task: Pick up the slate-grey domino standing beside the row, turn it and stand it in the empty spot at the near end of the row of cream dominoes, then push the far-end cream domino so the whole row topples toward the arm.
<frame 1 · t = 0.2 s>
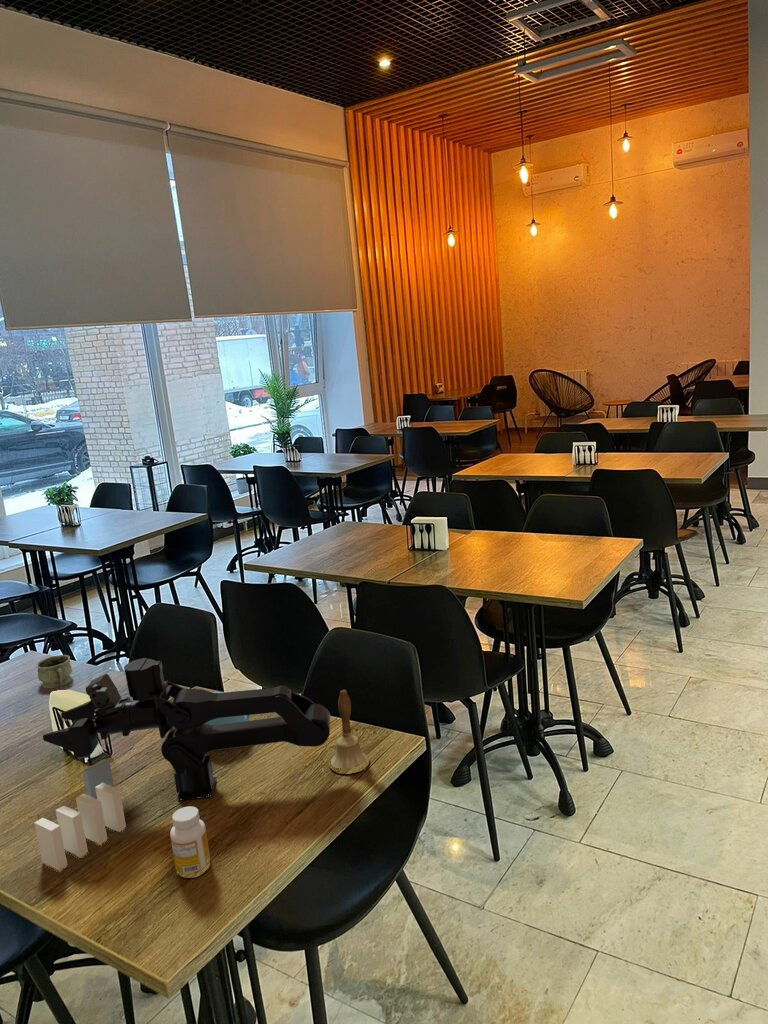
hand: (52, 726, 147), 16 cm above the table, tool horizontal, fingers open, 9 cm apart
supplement bottle: (194, 869, 127), on the table
hand bell: (349, 765, 156), on the table
vessel: (57, 682, 211), on the table
domino 4: (114, 827, 141), on the table
domino 1: (55, 865, 131), on the table
domino 2: (75, 852, 135), on the table
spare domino: (102, 803, 149), on the table
teapot: (214, 741, 170), on the table
domino 3: (95, 839, 138), on the table
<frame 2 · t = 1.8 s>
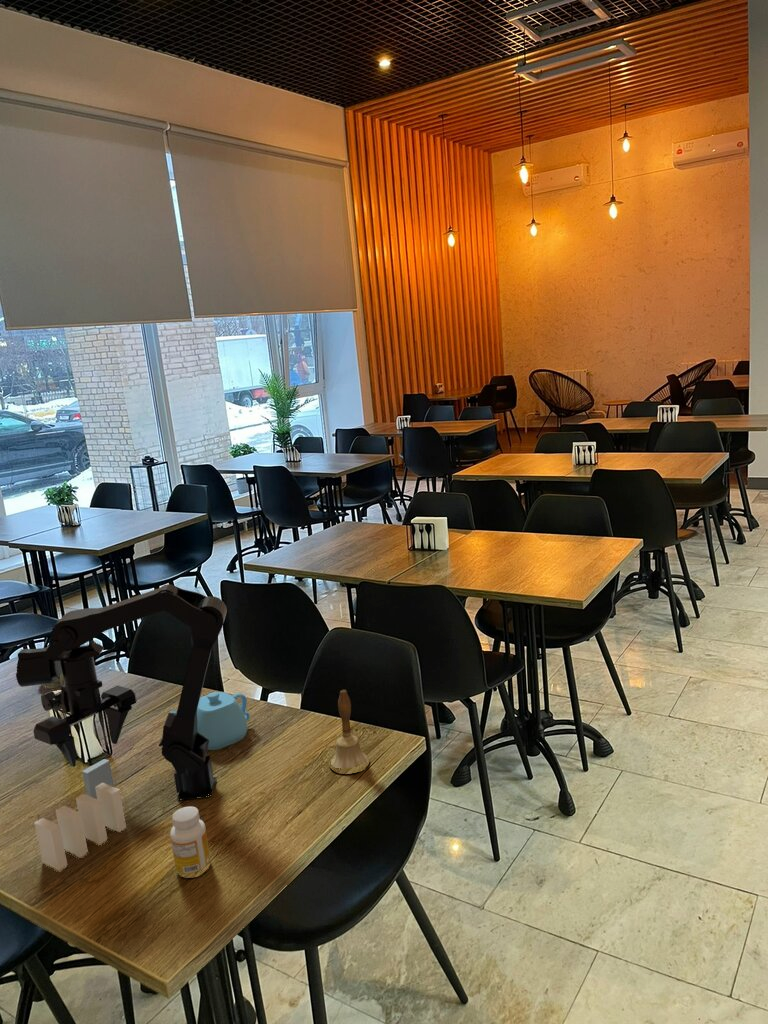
hand: (94, 754, 147), 10 cm above the table, tool pointing down, fingers open, 9 cm apart
nothing on the table moved.
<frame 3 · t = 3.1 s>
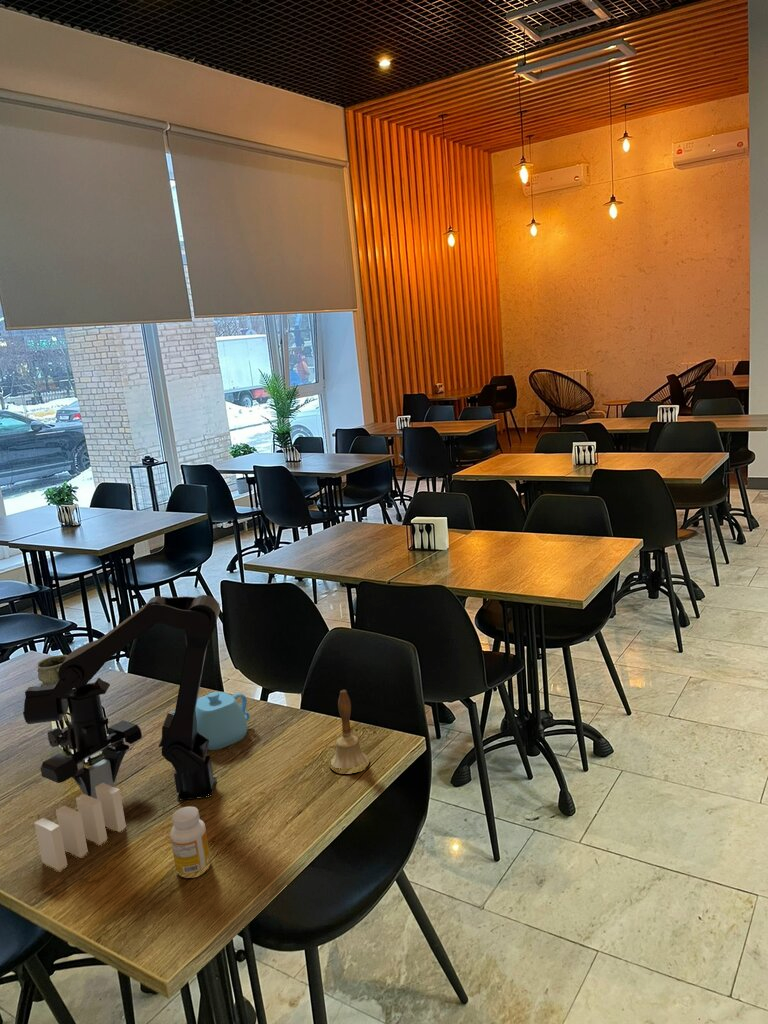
hand: (100, 790, 149), 3 cm above the table, tool pointing down, fingers closed on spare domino, 5 cm apart
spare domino: (102, 803, 149), on the table, touching gripper
everything else where it was.
when the fingers open (4 cm above the table, at t = 8.2 s): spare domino stays where it is, on the table.
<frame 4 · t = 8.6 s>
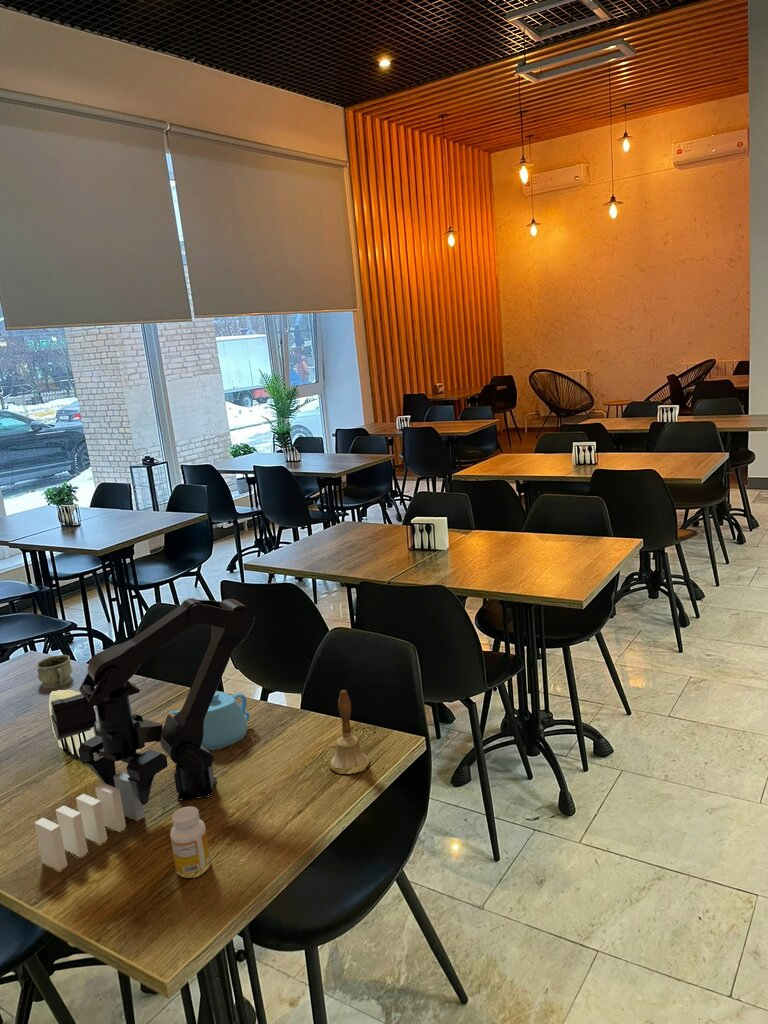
hand: (129, 797, 143), 4 cm above the table, tool pointing down, fingers open, 9 cm apart
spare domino: (132, 815, 144), on the table
everything else where it was.
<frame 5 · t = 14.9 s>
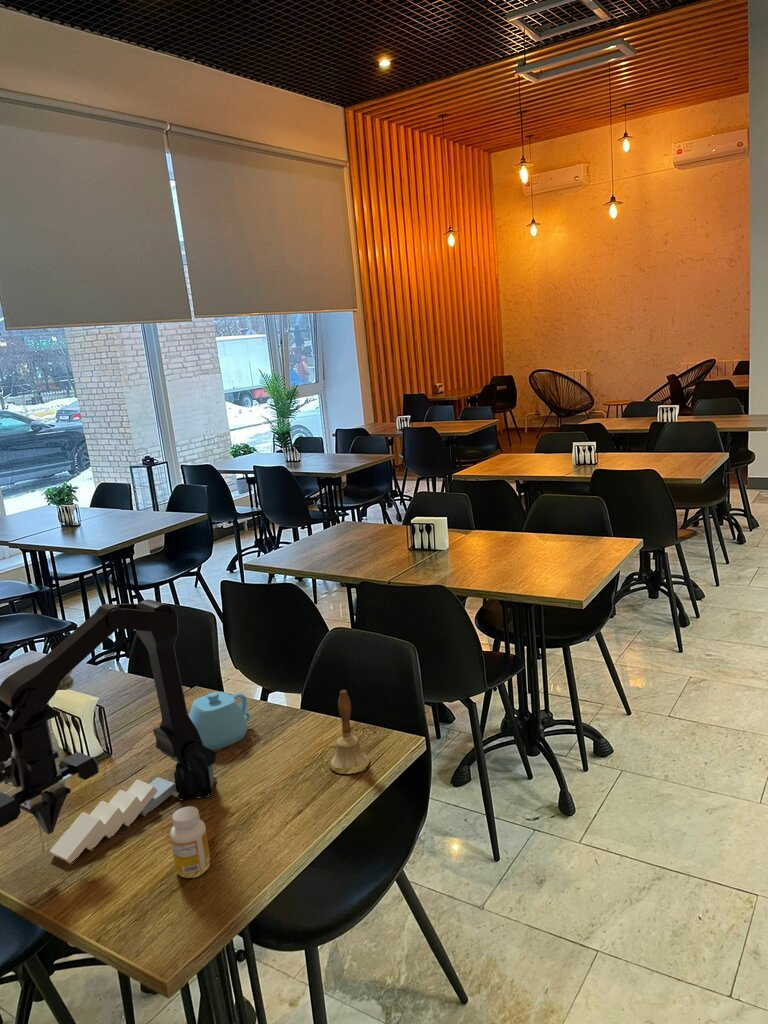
hand: (49, 832, 130), 6 cm above the table, tool pointing down, fingers closed
domino 4: (117, 821, 141), point 1 cm above the table, tilted 66°, touching domino 3, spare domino
domino 1: (60, 857, 132), point 1 cm above the table, tilted 66°, touching domino 2
domino 2: (80, 844, 135), point 1 cm above the table, tilted 66°, touching domino 1, domino 3
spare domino: (135, 809, 145), point 1 cm above the table, tilted 82°, touching arm, domino 4
domino 3: (99, 832, 138), point 1 cm above the table, tilted 66°, touching domino 2, domino 4
everything else where it was.
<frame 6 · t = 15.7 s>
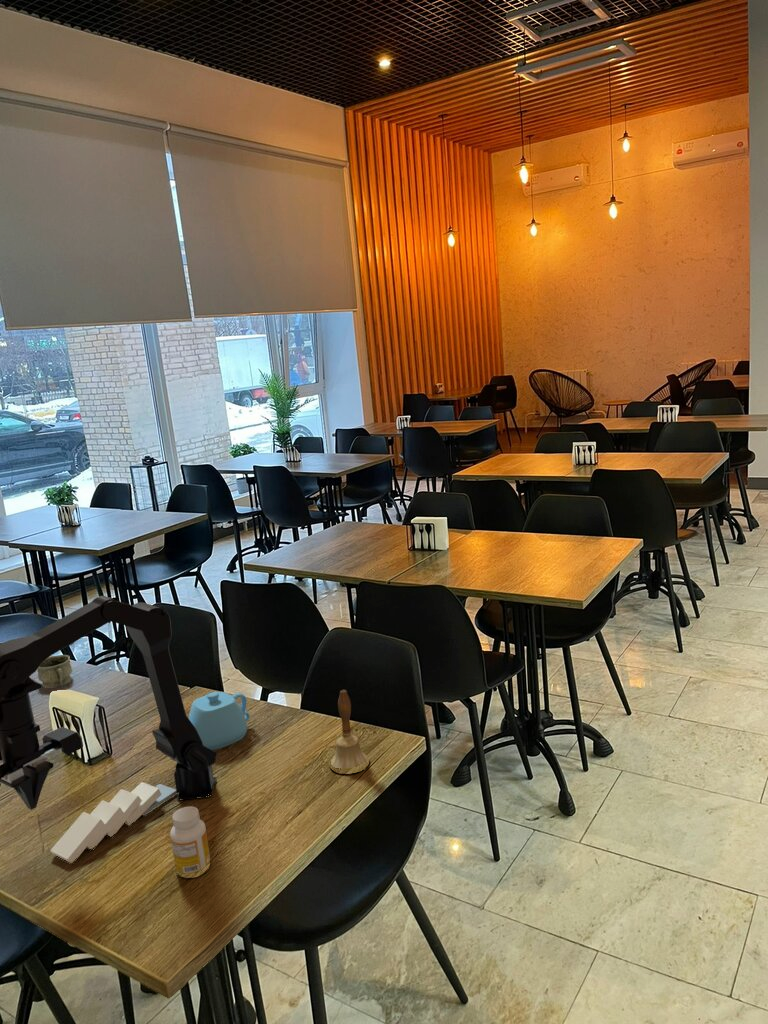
hand: (32, 808, 128), 12 cm above the table, tool pointing down, fingers closed
domino 4: (119, 819, 142), point 1 cm above the table, tilted 74°, touching domino 3, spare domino
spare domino: (135, 812, 145), on the table, tilted 90°, touching domino 4
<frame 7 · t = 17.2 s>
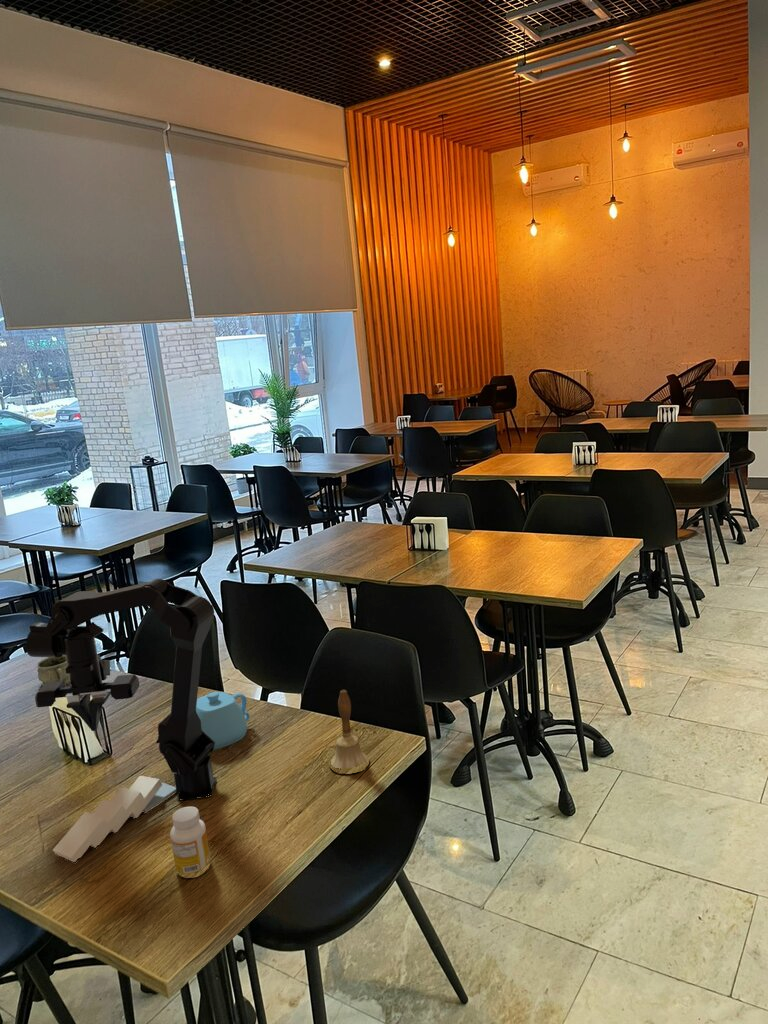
hand: (95, 729, 154), 12 cm above the table, tool pointing down, fingers closed
domino 4: (124, 813, 143), point 1 cm above the table, tilted 72°, touching domino 3, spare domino
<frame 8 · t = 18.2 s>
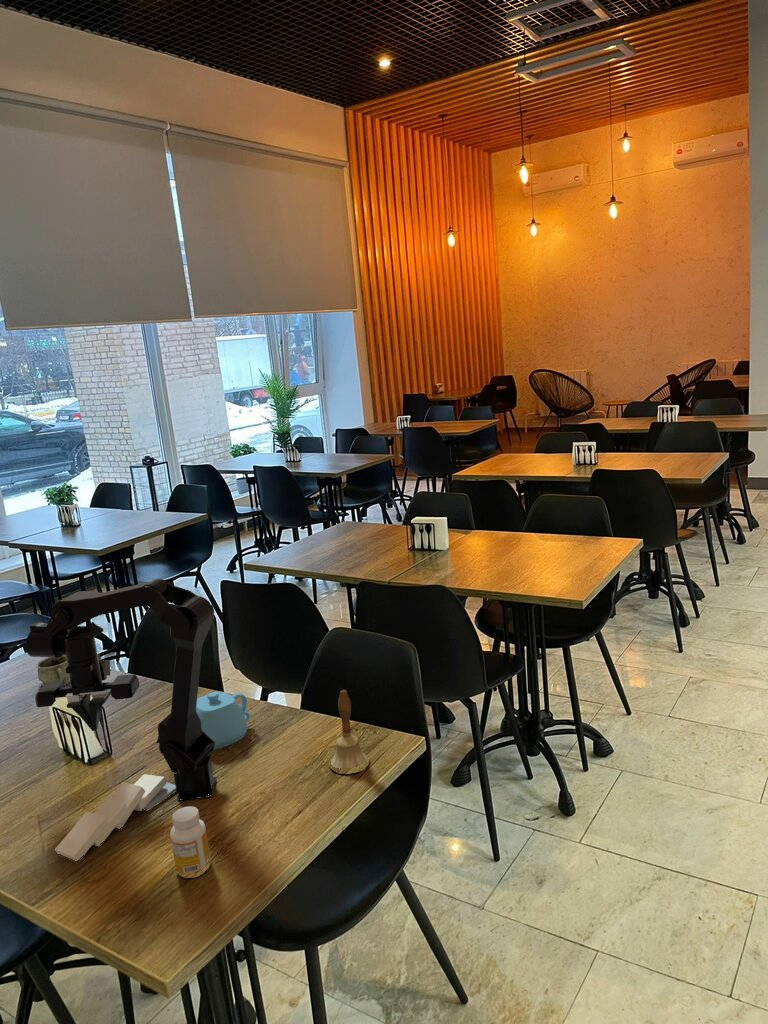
hand: (95, 729, 154), 12 cm above the table, tool pointing down, fingers closed
domino 4: (129, 805, 145), point 1 cm above the table, tilted 83°, touching domino 3, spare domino
domino 2: (87, 841, 136), point 1 cm above the table, tilted 68°, touching domino 1
domino 3: (108, 824, 141), point 1 cm above the table, tilted 64°, touching domino 4
at the end: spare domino inside the target area (2.3 cm from its centre), on the table; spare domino tilted 90°; domino 1 tilted 69° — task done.
